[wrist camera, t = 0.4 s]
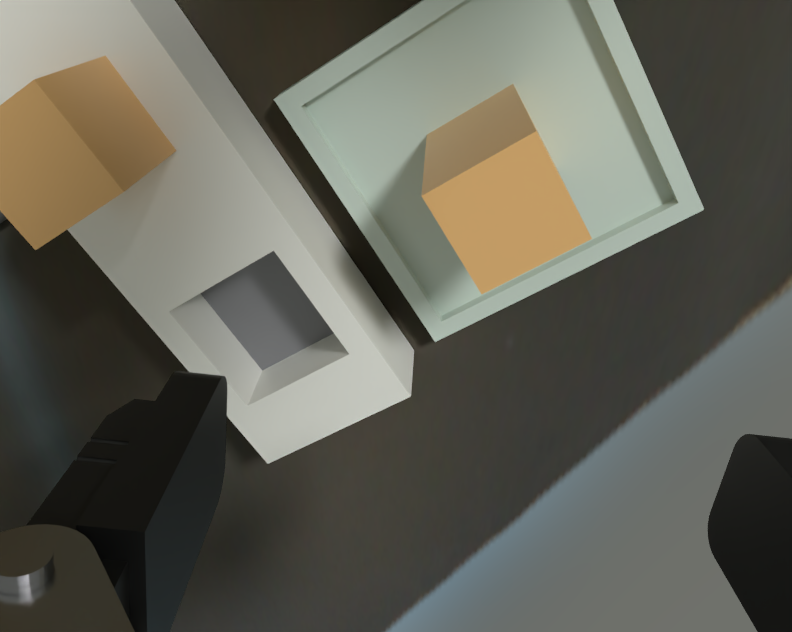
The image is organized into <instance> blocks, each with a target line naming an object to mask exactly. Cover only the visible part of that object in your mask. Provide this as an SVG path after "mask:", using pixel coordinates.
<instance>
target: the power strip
mask: <svg viewBox="0 0 792 632" xmlns="http://www.w3.org/2000/svg"><path fill="white" fill-rule="evenodd" d="M6 219H8V220H9V221H10V222H11V223H12V225H13V226H14V227H15V228H16V229H17V230H18V231H19V232H20V234H21V235H22V236H23V237H24V238H25V239H26V240H27V241H28V243H29V244H30V245H31V246H32V247H33V248H34V249H35V250H37V249H38V248H40V247H41V246H43V245H44V244H46V243H48V242H49V241H51V240H52V239H54V238H55V237H57V236H58V235H60V234H61V233H63V232H64V231H66V230H68V231H69V232H70V233H71V235H72V236H73V237H74V238H75V239H76V240H77V242H78V243H79V244H80V245H81V246H82V247H83V249H84V250H85V251H86V252H87V253H88V254H89V256H90V257H91V258H92V259H93V260H94V261H95V263H96V264H97V265H98V266H99V267H100V268H101V270H102V271H103V272H104V273H105V274H106V276H107V277H108V278H109V279H110V280H111V281H112V283H113V284H114V285H115V286H116V287H117V288H118V290H119V291H120V292H121V293H122V294H123V295H124V297H125V298H126V299H127V300H128V301H129V302H130V304H131V305H132V306H133V307H134V308H135V309H136V311H137V312H138V313H139V314H140V315H141V316H142V318H143V319H144V320H145V321H146V322H147V323H148V325H149V326H150V327H151V328H152V329H153V330H154V332H155V333H156V334H157V335H158V336H159V337H160V339H161V340H162V341H163V342H164V343H165V344H166V346H167V347H168V348H169V349H170V350H171V351H172V353H173V354H174V355H175V356H176V357H177V358H178V360H179V361H180V362H181V363H182V364H183V365H184V367H185V368H186V369H187V370H188V371H189V372H193V373H202V374H211V375H220V376H225V377H226V380H227V417H228V418H229V419H230V420H231V422H232V423H233V424H234V425H235V426H236V427H237V429H238V430H239V431H240V432H241V433H242V434H243V436H244V437H245V438H246V439H247V440H248V441H249V443H250V444H251V445H252V446H253V447H254V448H255V450H256V451H257V452H258V453H259V454H260V455H261V457H262V458H263V459H264V460H265V461H266V462H267V464H269V463H271V462H273V461H275V460H277V459H279V458H281V457H283V456H286V455H288V454H290V453H292V452H294V451H296V450H298V449H300V448H303V447H305V446H307V445H309V444H311V443H313V442H315V441H317V440H319V439H322V438H324V437H326V436H328V435H330V434H332V433H334V432H336V431H339V430H341V429H343V428H345V427H347V426H349V425H351V424H353V423H356V422H358V421H360V420H362V419H364V418H366V417H368V416H370V415H372V414H375V413H377V412H379V411H381V410H383V409H385V408H387V407H389V406H392V405H394V404H396V403H398V402H400V401H402V400H404V399H406V398H408V397H411V388H412V374H413V360H414V349H413V348H412V347H411V345H410V344H409V342H408V341H407V339H406V338H405V336H404V335H403V333H402V332H401V330H400V329H399V328H398V326H397V325H396V323H395V322H394V320H393V319H392V317H391V316H390V314H389V313H388V311H387V310H386V309H385V307H384V306H383V304H382V303H381V301H380V300H379V298H378V297H377V295H376V294H375V292H374V291H373V290H372V288H371V287H370V285H369V284H368V282H367V281H366V279H365V278H364V276H363V275H362V273H361V272H360V270H359V269H358V268H357V266H356V265H355V263H354V262H353V260H352V259H351V257H350V256H349V254H348V253H347V251H346V250H345V249H344V247H343V246H342V244H341V243H340V241H339V240H338V238H337V237H336V235H335V234H334V232H333V231H332V230H331V228H330V227H329V225H328V224H327V222H326V221H325V219H324V218H323V216H322V215H321V213H320V212H319V211H318V209H317V208H316V206H315V205H314V203H313V202H312V200H311V199H310V197H309V196H308V194H307V193H306V192H305V190H304V189H303V187H302V186H301V184H300V183H299V181H298V180H297V178H296V177H295V175H294V174H293V172H292V171H291V170H290V168H289V167H288V165H287V164H286V162H285V161H284V159H283V158H282V156H281V155H280V153H279V152H278V151H277V149H276V148H275V146H274V145H273V143H272V142H271V140H270V139H269V137H268V136H267V134H266V133H265V132H264V130H263V129H262V127H261V126H260V124H259V123H258V121H257V120H256V118H255V117H254V115H253V114H252V113H251V111H250V110H249V108H248V107H247V105H246V104H245V102H244V101H243V99H242V98H241V96H240V95H239V94H238V92H237V91H236V89H235V88H234V86H233V85H232V83H231V82H230V80H229V79H228V77H227V76H226V74H225V73H224V72H223V70H222V69H221V67H220V66H219V64H218V63H217V61H216V60H215V58H214V57H213V55H212V54H211V53H210V51H209V50H208V48H207V47H206V45H205V44H204V42H203V41H202V39H201V38H200V36H199V35H198V34H197V32H196V31H195V29H194V28H193V26H192V25H191V23H190V22H189V20H188V19H187V17H186V16H185V15H184V13H183V12H182V10H181V9H180V7H179V6H178V4H177V3H176V1H175V0H0V223H2V222H3V221H5V220H6Z"/></svg>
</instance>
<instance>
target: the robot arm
mask: <svg viewBox="0 0 792 632" xmlns="http://www.w3.org/2000/svg"><path fill="white" fill-rule="evenodd" d="M226 420H227V380H226V377H225V376H220V375H211V374H202V373H193V372H183V371H175V372H174V373H173V374H172V376H171V377H170V379H169V380H168V382H167V384H166V385H165V387H164V388H163V390H162V391H161V393H160V394H159V396H158V398H157V399H156V401H148V400H139V399H134V400H132V401H131V402H129V403H127V404H126V405H124V406H122V407H121V408H119V409H118V410H116V411H114V412H113V413H111V414H109V415H108V416H107V417H106V418H105V419H104V421H103V422H102V423H101V425H100V426H99V427H98V429H97V430H96V431H95V433H94V434H93V436H92V437H91V441H90V442H87V444H86V445H85V446H84V448H83V449H82V450H81V452H80V453H79V455H78V458H77V461H75V460H74V461H73V463H72V464H71V465H70V467H69V468H68V470H67V471H66V472H65V474H64V475H63V476H62V478H61V479H60V480H59V482H58V483H57V484H56V486H55V487H54V489H53V490H52V491H51V493H50V494H49V495H48V497H47V498H46V499H45V501H44V502H43V503H42V505H41V506H40V508H39V509H38V510H37V512H36V513H35V514H34V516H33V517H32V518H31V520H30V521H29V522H28V524H27V525H26V526H22V527H18V528H14V529H10V530H7V531H4V532H1V533H0V632H170V629H171V627H172V624H173V621H174V619H175V616H176V613H177V611H178V608H179V605H180V603H181V600H182V597H183V595H184V592H185V589H186V587H187V584H188V581H189V579H190V576H191V573H192V571H193V568H194V565H195V563H196V560H197V557H198V555H199V552H200V549H201V547H202V544H203V542H204V539H205V536H206V534H207V531H208V528H209V526H210V523H211V520H212V518H213V515H214V512H215V510H216V507H217V504H218V501H219V498H220V494H221V489H222V484H223V478H224V471H225V453H226ZM708 539H709V544H710V548H711V551H712V553H713V555H714V557H715V559H716V561H717V563H718V564H719V566H720V568H721V569H722V571H723V573H724V575H725V576H726V578H727V580H728V581H729V583H730V585H731V587H732V588H733V590H734V592H735V594H736V595H737V597H738V599H739V600H740V602H741V604H742V606H743V607H744V609H745V611H746V613H747V614H748V616H749V618H750V619H751V621H752V623H753V624H754V626H755V628H756V630H757V631H758V632H792V439H789V438H780V437H771V436H762V435H752V434H746V435H744V436H742V437H741V438H740V439H739V440H738V441H737V443H736V444H735V447H734V449H733V452H732V454H731V457H730V460H729V463H728V465H727V468H726V471H725V474H724V476H723V479H722V482H721V485H720V488H719V490H718V493H717V496H716V498H715V501H714V504H713V507H712V509H711V512H710V515H709V521H708Z"/></svg>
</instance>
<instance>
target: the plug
mask: <svg viewBox="0 0 792 632" xmlns="http://www.w3.org/2000/svg"><path fill="white" fill-rule="evenodd" d="M421 196H422V198H423V199H424V201H425V203H426V204H427V206H428V208H429V209H430V211H431V212H432V214H433V216H434V217H435V219H436V221H437V222H438V224H439V226H440V227H441V229H442V230H443V232H444V234H445V235H446V237H447V239H448V240H449V242H450V244H451V245H452V247H453V248H454V250H455V252H456V253H457V255H458V257H459V258H460V260H461V262H462V263H463V265H464V266H465V268H466V270H467V271H468V273H469V275H470V276H471V278H472V280H473V281H474V283H475V284H476V286H477V288H478V289H479V291H480V293H481V294H484V293H486V292H488V291H490V290H492V289H494V288H496V287H498V286H500V285H502V284H504V283H506V282H508V281H510V280H512V279H513V278H515V277H517V276H519V275H521V274H523V273H525V272H527V271H529V270H531V269H533V268H535V267H537V266H539V265H541V264H543V263H545V262H547V261H549V260H551V259H553V258H555V257H557V256H559V255H561V254H563V253H565V252H567V251H569V250H571V249H573V248H575V247H577V246H579V245H581V244H583V243H585V242H587V241H589V240H591V239H592V237H591V235H590V233H589V231H588V229H587V227H586V225H585V223H584V221H583V219H582V218H581V216H580V214H579V212H578V210H577V208H576V206H575V204H574V202H573V200H572V198H571V196H570V194H569V192H568V190H567V188H566V186H565V184H564V182H563V180H562V178H561V176H560V174H559V172H558V170H557V168H556V166H555V164H554V162H553V160H552V158H551V156H550V154H549V152H548V150H547V148H546V146H545V144H544V143H543V141H542V139H541V137H540V135H539V133H538V131H537V129H536V127H535V125H534V123H533V121H532V119H531V117H530V115H529V113H528V112H527V110H526V108H525V106H524V104H523V102H522V100H521V98H520V96H519V94H518V92H517V90H516V88H515V86H514V84H512V85H510V86H508V87H506V88H505V89H503V90H501V91H500V92H498V93H496V94H495V95H493V96H491V97H490V98H488V99H486V100H485V101H483V102H481V103H480V104H478V105H476V106H474V107H473V108H471V109H469V110H468V111H466V112H464V113H463V114H461V115H459V116H458V117H456V118H454V119H453V120H451V121H449V122H447V123H446V124H444V125H442V126H441V127H439V128H437V129H436V130H434V131H432V132H431V133H429V134H427V137H426V148H425V160H424V172H423V183H422V195H421Z"/></svg>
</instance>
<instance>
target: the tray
mask: <svg viewBox="0 0 792 632" xmlns="http://www.w3.org/2000/svg"><path fill="white" fill-rule="evenodd" d="M512 84H514V86H515V88H516V90H517V92H518V94H519V96H520V98H521V100H522V102H523V104H524V106H525V108H526V110H527V112H528V113H529V115H530V117H531V119H532V121H533V123H534V125H535V127H536V129H537V131H538V133H539V135H540V137H541V139H542V141H543V143H544V144H545V146H546V148H547V150H548V152H549V154H550V156H551V158H552V160H553V162H554V164H555V166H556V168H557V170H558V172H559V174H560V176H561V178H562V180H563V182H564V184H565V186H566V188H567V190H568V192H569V194H570V196H571V198H572V200H573V202H574V204H575V206H576V208H577V210H578V212H579V214H580V216H581V218H582V219H583V221H584V223H585V225H586V227H587V229H588V231H589V233H590V235H591V237H592V239H591V240H589V241H587V242H585V243H583V244H581V245H579V246H577V247H575V248H573V249H571V250H569V251H567V252H565V253H563V254H561V255H559V256H557V257H555V258H553V259H551V260H549V261H547V262H545V263H543V264H541V265H539V266H537V267H535V268H533V269H531V270H529V271H527V272H525V273H523V274H521V275H519V276H517V277H515V278H513V279H512V280H510V281H508V282H506V283H504V284H502V285H500V286H498V287H496V288H494V289H492V290H490V291H488V292H486V293H484V294H481V293H480V291H479V289H478V288H477V286H476V284H475V283H474V281H473V280H472V278H471V276H470V275H469V273H468V271H467V270H466V268H465V266H464V265H463V263H462V262H461V260H460V258H459V257H458V255H457V253H456V252H455V250H454V248H453V247H452V245H451V244H450V242H449V240H448V239H447V237H446V235H445V234H444V232H443V230H442V229H441V227H440V226H439V224H438V222H437V221H436V219H435V217H434V216H433V214H432V212H431V211H430V209H429V208H428V206H427V204H426V203H425V201H424V199H423V198H422V196H421V195H422V183H423V172H424V160H425V148H426V137H427V134H429V133H431V132H432V131H434V130H436V129H437V128H439V127H441V126H442V125H444V124H446V123H447V122H449V121H451V120H453V119H454V118H456V117H458V116H459V115H461V114H463V113H464V112H466V111H468V110H469V109H471V108H473V107H474V106H476V105H478V104H480V103H481V102H483V101H485V100H486V99H488V98H490V97H491V96H493V95H495V94H496V93H498V92H500V91H501V90H503V89H505V88H506V87H508V86H510V85H512ZM274 101H275V102H276V104H277V105H278V107H279V108H280V110H281V111H282V113H283V114H284V116H285V117H286V119H287V120H288V122H289V123H290V125H291V126H292V128H293V129H294V131H295V132H296V134H297V135H298V137H299V138H300V140H301V141H302V143H303V144H304V146H305V147H306V149H307V150H308V152H309V153H310V155H311V156H312V158H313V159H314V161H315V162H316V164H317V165H318V167H319V168H320V170H321V171H322V173H323V174H324V176H325V177H326V179H327V180H328V182H329V183H330V185H331V186H332V188H333V189H334V191H335V192H336V194H337V195H338V197H339V198H340V200H341V201H342V203H343V204H344V206H345V207H346V209H347V210H348V212H349V213H350V215H351V216H352V218H353V219H354V221H355V222H356V224H357V225H358V227H359V228H360V230H361V231H362V233H363V234H364V236H365V237H366V239H367V240H368V242H369V243H370V245H371V246H372V248H373V249H374V251H375V252H376V254H377V255H378V257H379V258H380V260H381V261H382V263H383V264H384V266H385V268H386V269H387V271H388V272H389V274H390V275H391V277H392V278H393V280H394V281H395V283H396V284H397V286H398V287H399V289H400V290H401V292H402V293H403V295H404V296H405V298H406V299H407V301H408V302H409V304H410V305H411V307H412V308H413V310H414V311H415V313H416V314H417V316H418V317H419V319H420V320H421V322H422V323H423V325H424V326H425V328H426V329H427V331H428V332H429V334H430V335H431V337H432V338H433V340H434V341H435V342H436V341H438V340H440V339H442V338H444V337H446V336H448V335H450V334H453V333H455V332H457V331H459V330H461V329H463V328H465V327H467V326H469V325H471V324H473V323H475V322H477V321H479V320H481V319H483V318H485V317H487V316H489V315H491V314H493V313H495V312H497V311H499V310H501V309H503V308H505V307H507V306H509V305H511V304H513V303H515V302H517V301H520V300H522V299H524V298H526V297H528V296H530V295H532V294H534V293H536V292H538V291H540V290H542V289H544V288H546V287H548V286H550V285H552V284H554V283H556V282H558V281H560V280H562V279H564V278H566V277H568V276H570V275H572V274H574V273H576V272H578V271H580V270H582V269H585V268H587V267H589V266H591V265H593V264H595V263H597V262H599V261H601V260H603V259H605V258H607V257H609V256H611V255H613V254H615V253H617V252H619V251H621V250H623V249H625V248H627V247H629V246H631V245H633V244H635V243H637V242H639V241H641V240H643V239H645V238H647V237H649V236H652V235H654V234H656V233H658V232H660V231H662V230H664V229H666V228H668V227H670V226H672V225H674V224H676V223H678V222H680V221H682V220H684V219H686V218H688V217H690V216H692V215H694V214H696V213H698V212H700V211H702V210H704V208H703V205H702V203H701V201H700V199H699V196H698V194H697V192H696V189H695V187H694V185H693V182H692V180H691V178H690V176H689V173H688V171H687V169H686V166H685V164H684V162H683V159H682V157H681V155H680V153H679V150H678V148H677V146H676V143H675V141H674V139H673V137H672V134H671V132H670V130H669V127H668V125H667V123H666V120H665V118H664V116H663V114H662V111H661V109H660V107H659V104H658V102H657V100H656V97H655V95H654V93H653V91H652V88H651V86H650V84H649V81H648V79H647V77H646V74H645V72H644V70H643V68H642V65H641V63H640V61H639V58H638V56H637V54H636V51H635V49H634V47H633V45H632V42H631V40H630V38H629V35H628V33H627V31H626V28H625V26H624V24H623V22H622V19H621V17H620V15H619V12H618V10H617V8H616V5H615V3H614V1H613V0H421V1H420V2H418V3H417V4H415V5H413V6H412V7H410V8H409V9H407V10H406V11H404V12H403V13H401V14H400V15H398V16H397V17H395V18H394V19H392V20H391V21H389V22H388V23H386V24H385V25H383V26H382V27H380V28H379V29H377V30H376V31H374V32H373V33H371V34H369V35H368V36H366V37H365V38H363V39H362V40H360V41H359V42H357V43H356V44H354V45H353V46H351V47H350V48H348V49H347V50H345V51H344V52H342V53H341V54H339V55H338V56H336V57H335V58H333V59H332V60H330V61H329V62H327V63H326V64H324V65H322V66H321V67H319V68H318V69H316V70H315V71H313V72H312V73H310V74H309V75H307V76H306V77H304V78H303V79H301V80H300V81H298V82H297V83H295V84H294V85H292V86H291V87H289V88H288V89H286V90H285V91H283V92H282V93H280V94H279V95H278V96H277V97H276V98H275V99H274Z"/></svg>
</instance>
